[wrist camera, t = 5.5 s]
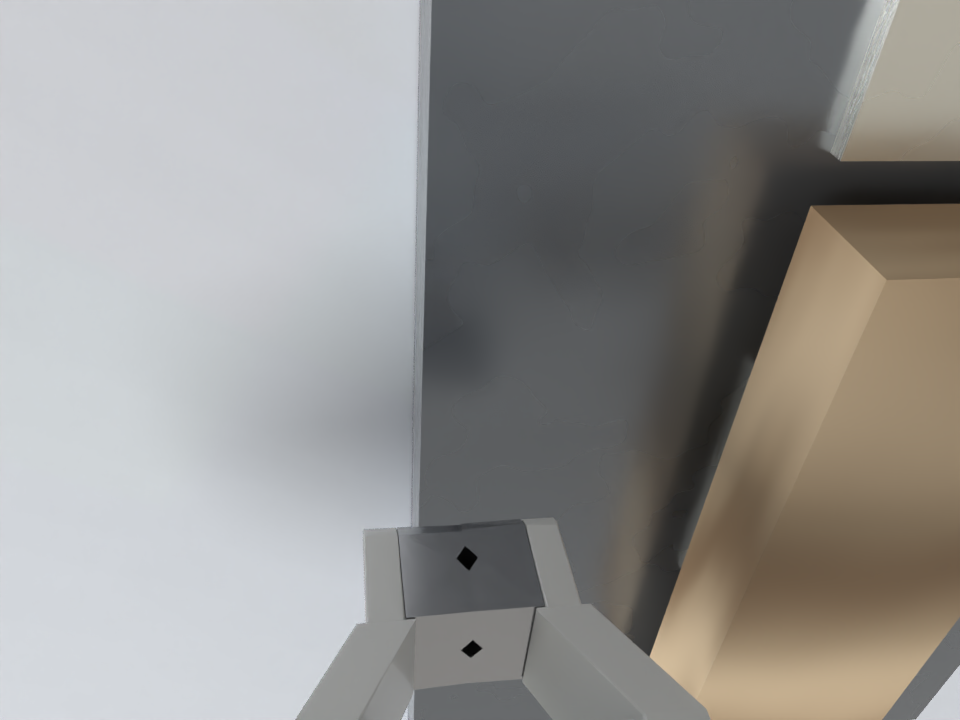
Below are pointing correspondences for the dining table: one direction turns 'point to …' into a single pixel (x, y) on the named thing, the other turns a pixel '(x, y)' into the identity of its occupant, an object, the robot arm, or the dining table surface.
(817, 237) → the swing bar
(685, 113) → the gray base panel
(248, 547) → the dining table surface
